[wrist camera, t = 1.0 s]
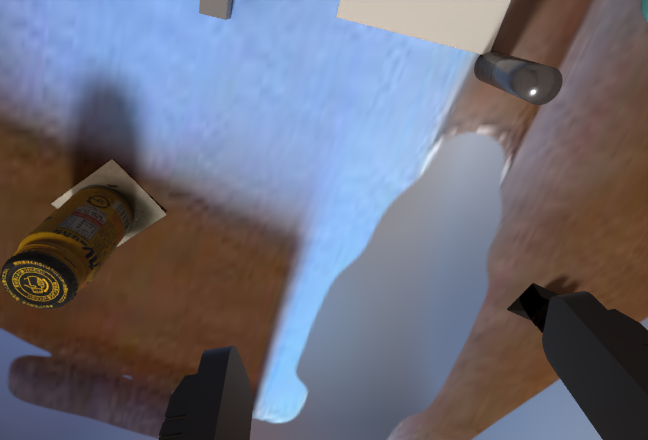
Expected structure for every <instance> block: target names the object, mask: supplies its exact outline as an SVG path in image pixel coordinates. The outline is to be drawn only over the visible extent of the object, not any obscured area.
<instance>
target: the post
mask: <svg viewBox="0 0 648 440" xmlns="http://www.w3.org/2000/svg"><path fill="white" fill-rule="evenodd" d="M474 72H475V75H476V77H477V78H478V79H479V80H481V81H483V82H485V83H487V84H490V85H492V86H494V87H496V88H499V89H501V90H503V91H505V92H508V93H510V94H512V95H514V96H516V97H519V98H521V99H523V100H525V101H528V102H530V103H532V104H535V105H542V104H546V103H548V102H550V101H551V100H552V99H554V98H555V97H556V95H557V94H558V93H559V91H560V89H561V86H562V75H561V73H560V71H559V70H558V69H556V68H554V67H551V66H547V65H543V64H540V63H536V62H532V61H528V60H525V59H521V58H517V57H514V56H510V55H506V54H502V53H499V52H495V51H490V52H487V53H485V54H484V55H481V56H480V57H479V58H478V60H477V61H476V64H475V68H474Z"/></svg>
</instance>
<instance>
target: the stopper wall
mask: <svg viewBox="0 0 648 440" xmlns="http://www.w3.org/2000/svg"><path fill="white" fill-rule="evenodd" d="M231 9H232V0H200V8H199V13H201V14H205V15H209V16H213V17H217V18H221V19H225V20H226V19H230V18H231Z"/></svg>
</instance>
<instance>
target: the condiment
mask: <svg viewBox="0 0 648 440" xmlns="http://www.w3.org/2000/svg"><path fill="white" fill-rule="evenodd" d="M107 184H109V185H117V186H118V187H116V188H115V187H109V186H108V185H107ZM51 204H52V205H54V206H55V207H56V208H57V210H56V211H54V212H53V213H52V214H51V215H50V216H49V217H48V218H47V219H46V220H44V222H42V223H41V224H40V225H39V226H38V227H37V228H36V229H34V230H33V231H32V232H31V233H30V234H29V235H28V236H26V237H25V238H24V239H23V240H22V242H21V243H20V245H19V248H18V250H17V251H16V252H15V253H14V255H13V256H12V257H11V258H10V259H8V260H7V261H6V263H5V264H4V266H3V267H2V273H1V275H0V279H1V282H2V284H3V286H4V288H5V289H6V290H7V292H8V293H9V294H10V295H11V296H12V297H14V298H15V299H16V300H18V301H20V302H21V303H22V304H26V305H28V306H31V307H34V308H42V309H53V308H58V307H62V306H64V305H65V304H66V303H68V302H70V301H71V300H73V298H74V296H76V293H77V292H78V291H79V290H80V289H81V288H82V287H84V286H86V285H87V284H88V283H90V282H91V281H92V280H93V279H94V278H95V277H96V275H97V274H98V272H99V271H100V269H101V268H102V266H103V265H104V264H105V262H106V261H107V259H108V258H109V257H110V255H111V254H112V252H113V251H114V250H115V249H116V247H118V246H119V245H121V244H122V243H124V242H125V241H127V240H128V239H130V238H131V237H133V236H134V235H136V234H138V233H139V232H141V231H142V230H144V229H145V228H147V227H148V226H150V225H151V224H153V223H154V222H156V221H157V220H159V219H161V218H162V217H164V216H165V215H166V214H165V212H164V211H163V210H162V209H161V208H160V207H159V206H158V205H157V204H156V202H155V201H154V200H153V199H151V198H150V196H149V195H148V194H147V193H146V192H145V191H144V190H143V189H142V188H141V187H140V186H139V185H138V184H137V183H136V182H135V181H134V180H133V179H132V178H131V177H130V176H129V175H128V174H127V173H126V172H125V171H124V170H123V169H122V168H121V167H120V166H119V165H118V164H117V163H116V162H115V161H114V160H113V159H111V160H110V161H109V162H107V163H106V164H105V165H103V166H102V167H101V168H99V169H98V170H96V171H95V172H94V173H92V174H91V175H90V176H88V177H87V178H86V179H84V180H83V181H81V182H80V183H79V184H77V185H76V186H75V187H73V188H72V189H70V190H69V191H68V192H66V193H65V194H64V195H62V196H61V197H60V198H58V199H57V200H55V201H54V202H53V203H51ZM135 218H137V219H138V220H137V221H135Z"/></svg>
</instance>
